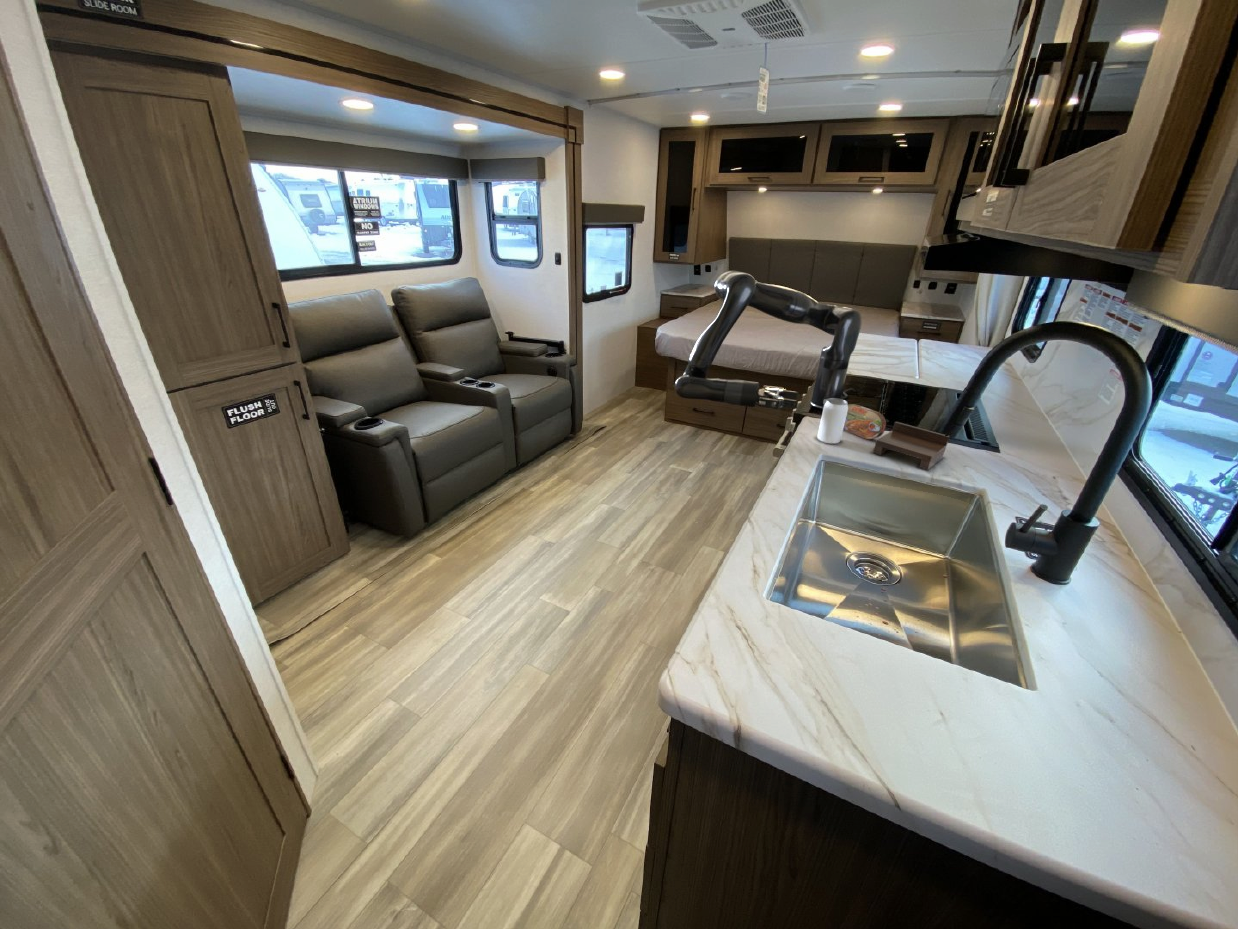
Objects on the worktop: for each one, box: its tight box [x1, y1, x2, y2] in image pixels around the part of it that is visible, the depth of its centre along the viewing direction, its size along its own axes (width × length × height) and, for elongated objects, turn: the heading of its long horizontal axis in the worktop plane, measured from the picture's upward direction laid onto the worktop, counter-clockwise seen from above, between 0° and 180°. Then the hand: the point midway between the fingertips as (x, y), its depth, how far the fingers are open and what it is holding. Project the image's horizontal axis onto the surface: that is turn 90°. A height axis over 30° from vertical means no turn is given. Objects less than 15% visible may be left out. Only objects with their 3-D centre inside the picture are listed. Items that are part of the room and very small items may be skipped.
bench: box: [872, 421, 951, 471], centre depth 135 cm, size 12×14×6 cm
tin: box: [843, 403, 887, 440], centre depth 148 cm, size 15×3×8 cm, turn 27°
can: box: [816, 398, 848, 445], centre depth 143 cm, size 6×6×12 cm
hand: (797, 399), depth 144 cm, fingers open, 8 cm apart
